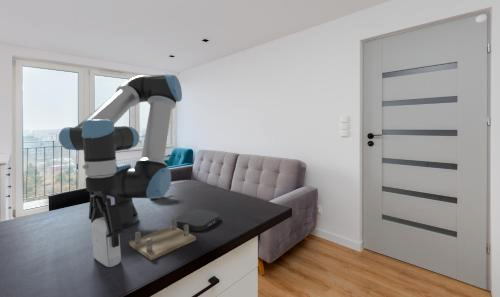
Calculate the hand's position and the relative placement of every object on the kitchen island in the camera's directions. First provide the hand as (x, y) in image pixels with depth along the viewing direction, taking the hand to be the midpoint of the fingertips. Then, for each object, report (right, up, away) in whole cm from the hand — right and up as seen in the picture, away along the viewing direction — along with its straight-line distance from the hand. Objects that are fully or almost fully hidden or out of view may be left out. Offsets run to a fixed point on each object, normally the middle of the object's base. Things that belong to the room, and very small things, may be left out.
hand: (106, 249), depth 70 cm
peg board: (+13, -2, +11) cm, 17 cm away
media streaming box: (+20, -1, +28) cm, 34 cm away
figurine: (-7, +3, +61) cm, 62 cm away
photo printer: (0, -3, 0) cm, 3 cm away
